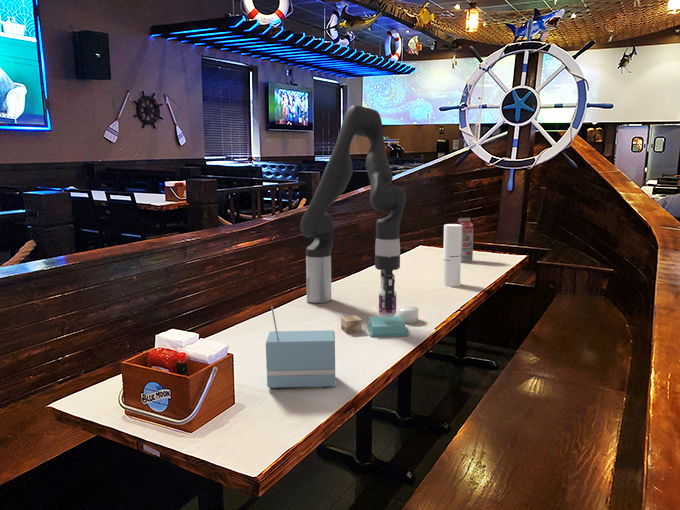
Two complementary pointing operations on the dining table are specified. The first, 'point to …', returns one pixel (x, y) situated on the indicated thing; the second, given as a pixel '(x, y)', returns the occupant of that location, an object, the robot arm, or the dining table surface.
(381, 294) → the pill bottle
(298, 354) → the radio
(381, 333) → the podium
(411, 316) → the white rounded puck
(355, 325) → the tan square block
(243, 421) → the dining table surface
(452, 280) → the cylindrical container
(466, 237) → the juice carton
